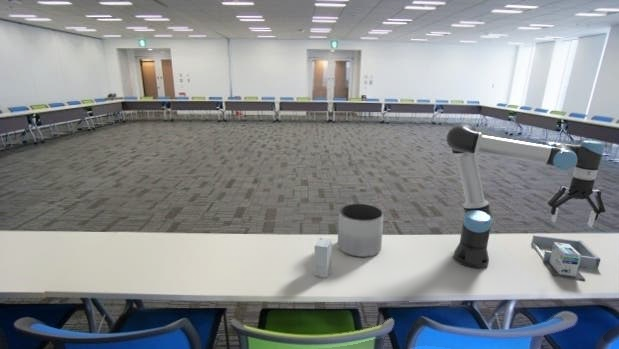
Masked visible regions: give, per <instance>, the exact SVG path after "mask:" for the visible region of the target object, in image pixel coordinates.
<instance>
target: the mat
mask: <svg viewBox="0 0 619 349" xmlns="http://www.w3.org/2000/svg"><path fill="white" fill-rule="evenodd" d="M542 261H543V260H542ZM543 264H544V265H545V266H546V268H547V269H548V271H549V273H550V274H551V275H552V277H558V278H564V279H565V278H566V279H571V280H577V281H578V280H579V281H586V279H585V277H584V276H583V275H582V274H581V272H580V271H579V269H578V270H577V274H576V276H568V275H561V274H559V273H558V272H557V271H556V270H555V269H554V267H553V266H552V265H551V264H550V263H549V261H543Z"/></svg>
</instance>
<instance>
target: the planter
mask: <svg viewBox="0 0 619 349" xmlns="http://www.w3.org/2000/svg"><path fill="white" fill-rule="evenodd" d="M338 214H339V215H338V228H337V247H338V249H339V250H341V252H343V253H345V254H347V255H348V256H352V257H356V258H370V257H372V256H376V255H377V254H379V252H380V251H381V250H382V242H383V226H384V225H383V224H384V212H383V210H382V209H381V208H379V207H377V206H375V205H371V204H367V203H349V204H345V205H342V206H341V207H340V208H339V210H338Z"/></svg>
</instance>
